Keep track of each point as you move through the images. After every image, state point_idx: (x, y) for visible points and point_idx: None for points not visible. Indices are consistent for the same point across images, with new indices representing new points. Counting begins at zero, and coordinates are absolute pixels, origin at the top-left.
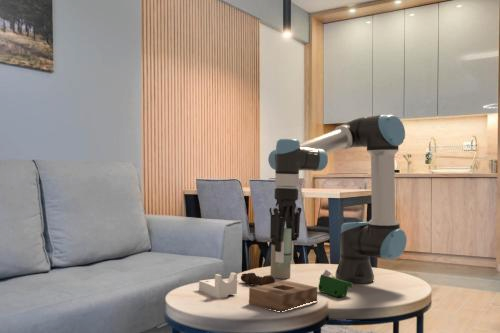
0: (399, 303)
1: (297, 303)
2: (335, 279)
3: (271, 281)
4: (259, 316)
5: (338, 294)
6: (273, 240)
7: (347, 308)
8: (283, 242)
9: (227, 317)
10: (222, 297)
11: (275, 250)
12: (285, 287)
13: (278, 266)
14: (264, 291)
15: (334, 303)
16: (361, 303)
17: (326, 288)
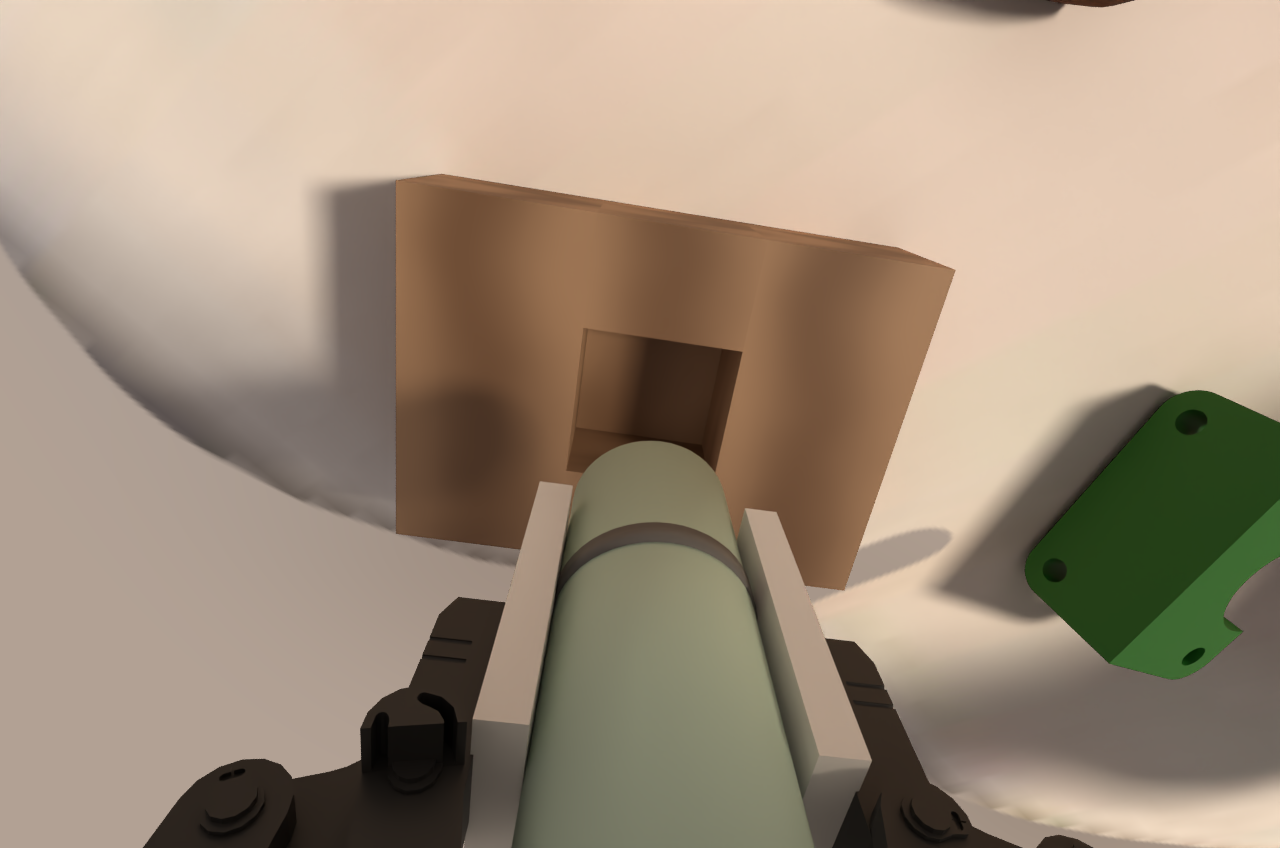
0: (1066, 813)
1: None
2: (1159, 609)
3: None
4: (268, 415)
5: (1030, 585)
6: (401, 706)
7: None
8: (499, 837)
9: (65, 272)
10: None
11: (442, 618)
12: (733, 376)
13: (582, 477)
14: (401, 369)
15: (868, 599)
16: (958, 697)
17: (1139, 483)
